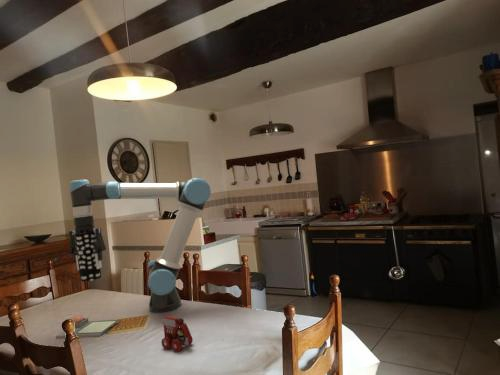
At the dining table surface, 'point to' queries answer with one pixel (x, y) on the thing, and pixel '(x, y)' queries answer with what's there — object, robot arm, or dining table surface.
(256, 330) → the dining table surface
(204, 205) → the robot arm
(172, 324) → the toy fire truck
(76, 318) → the button
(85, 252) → the white-spotted black cylinder
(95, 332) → the picture board
